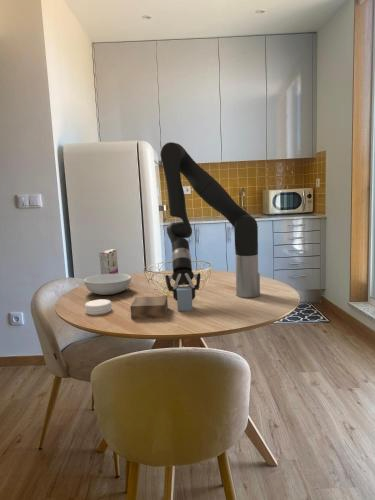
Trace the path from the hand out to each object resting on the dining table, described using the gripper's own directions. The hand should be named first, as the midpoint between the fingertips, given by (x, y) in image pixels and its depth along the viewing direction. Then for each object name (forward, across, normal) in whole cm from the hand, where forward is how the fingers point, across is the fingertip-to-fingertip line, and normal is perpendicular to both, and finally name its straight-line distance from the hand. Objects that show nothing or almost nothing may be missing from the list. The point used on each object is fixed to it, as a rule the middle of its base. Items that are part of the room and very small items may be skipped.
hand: (184, 298), depth 145 cm
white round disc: (-1, -33, +8) cm, 34 cm away
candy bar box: (-35, -35, +41) cm, 64 cm away
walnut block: (+4, -13, +2) cm, 14 cm away
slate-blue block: (+2, 0, +4) cm, 5 cm away
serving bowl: (-21, -33, +27) cm, 47 cm away
